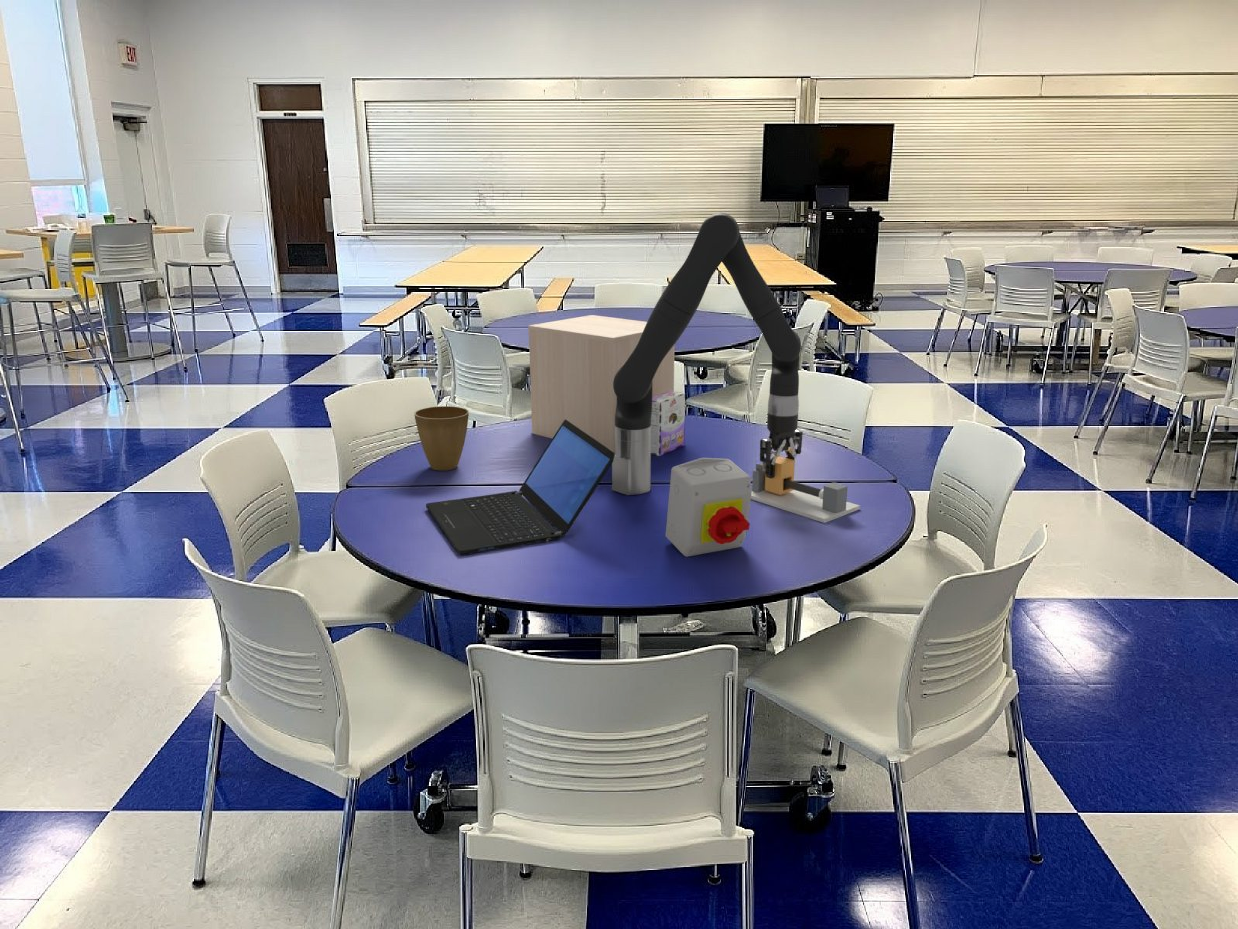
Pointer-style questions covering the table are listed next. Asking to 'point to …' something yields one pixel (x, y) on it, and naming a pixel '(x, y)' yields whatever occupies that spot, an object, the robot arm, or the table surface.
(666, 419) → the candy box
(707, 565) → the table surface
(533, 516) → the laptop
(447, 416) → the plant pot
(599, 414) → the cabinet
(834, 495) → the cord rig
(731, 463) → the electrical switch box
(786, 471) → the sleeve
